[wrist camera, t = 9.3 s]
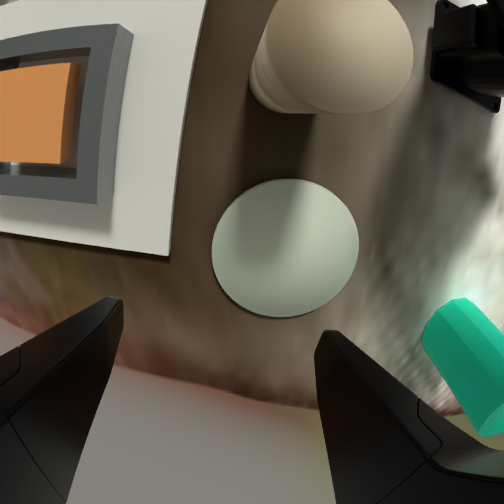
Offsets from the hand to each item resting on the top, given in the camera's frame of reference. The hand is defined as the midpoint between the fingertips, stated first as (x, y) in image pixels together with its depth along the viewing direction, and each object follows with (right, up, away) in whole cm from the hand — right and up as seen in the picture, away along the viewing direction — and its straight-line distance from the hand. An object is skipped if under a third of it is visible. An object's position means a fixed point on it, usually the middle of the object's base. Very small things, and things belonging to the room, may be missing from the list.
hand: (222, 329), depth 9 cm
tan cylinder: (+3, +11, +7) cm, 14 cm away
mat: (+3, +2, +11) cm, 12 cm away
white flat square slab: (-11, +10, +7) cm, 16 cm away
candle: (+18, -4, +15) cm, 24 cm away
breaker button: (-11, +9, +4) cm, 15 cm away
